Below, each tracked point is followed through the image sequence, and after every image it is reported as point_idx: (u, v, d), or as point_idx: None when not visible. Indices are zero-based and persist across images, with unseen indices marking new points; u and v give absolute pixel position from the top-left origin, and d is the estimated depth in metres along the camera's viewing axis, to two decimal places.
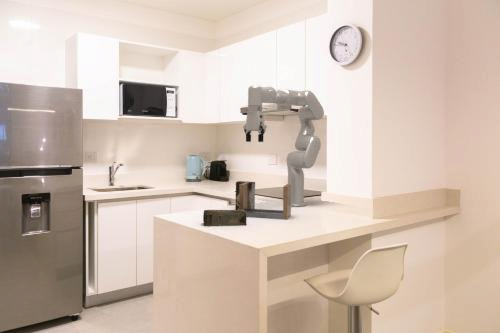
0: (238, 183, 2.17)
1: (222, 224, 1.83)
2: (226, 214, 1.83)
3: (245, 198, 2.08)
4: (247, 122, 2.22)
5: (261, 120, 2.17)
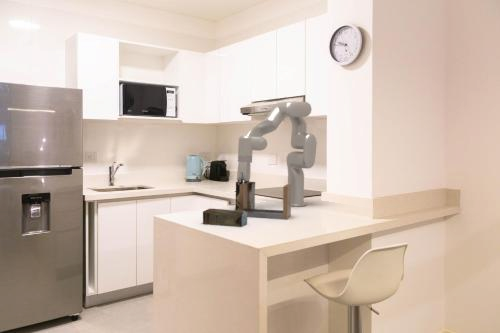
0: None
1: (219, 223, 1.84)
2: (222, 214, 1.83)
3: (245, 198, 2.08)
4: (246, 173, 2.14)
5: None
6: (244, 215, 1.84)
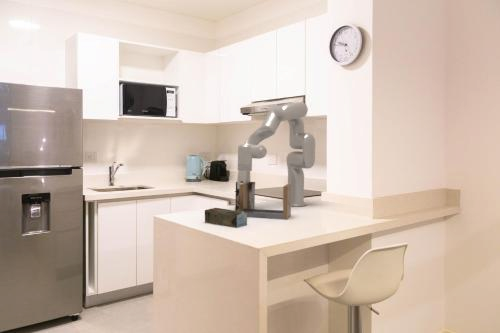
0: None
1: (217, 223, 1.86)
2: (220, 213, 1.84)
3: (245, 198, 2.08)
4: (246, 182, 2.14)
5: None
6: (241, 216, 1.82)
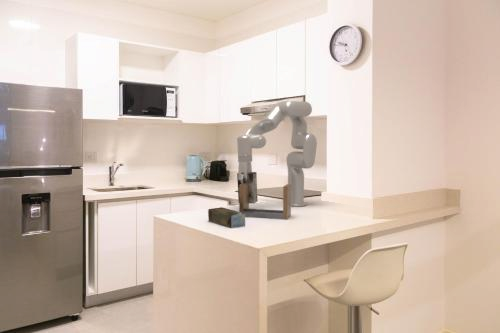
0: None
1: (217, 222, 1.87)
2: (219, 213, 1.85)
3: (245, 198, 2.08)
4: (247, 173, 2.16)
5: None
6: (237, 217, 1.80)
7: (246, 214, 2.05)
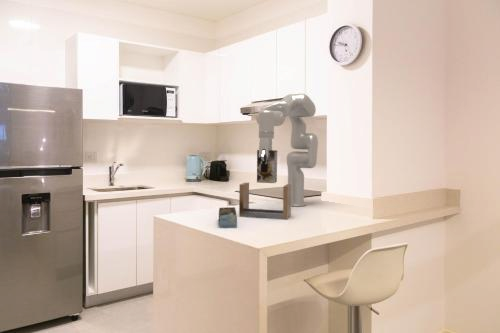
0: None
1: None
2: (219, 212, 1.87)
3: (245, 198, 2.08)
4: (268, 150, 2.01)
5: None
6: (226, 217, 1.79)
7: (246, 214, 2.05)
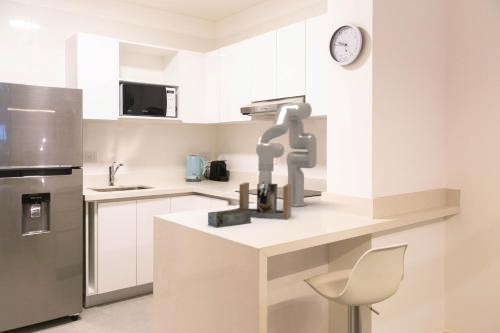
0: None
1: None
2: None
3: (245, 198, 2.08)
4: (268, 183, 2.02)
5: None
6: (211, 215, 1.82)
7: None
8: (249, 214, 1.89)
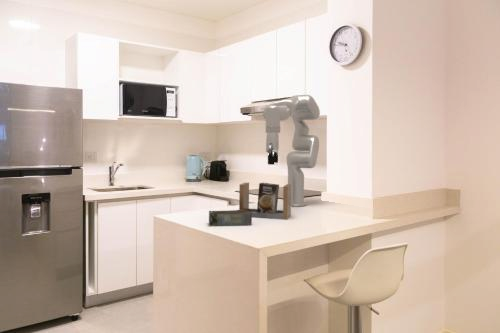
0: (262, 185, 2.04)
1: None
2: None
3: (245, 198, 2.08)
4: (275, 144, 2.08)
5: None
6: None
7: None
8: (249, 216, 1.84)
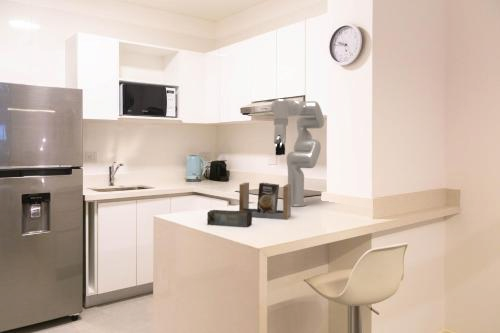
0: (262, 185, 2.04)
1: None
2: None
3: (245, 198, 2.08)
4: (283, 135, 2.16)
5: None
6: None
7: None
8: (245, 218, 1.81)
